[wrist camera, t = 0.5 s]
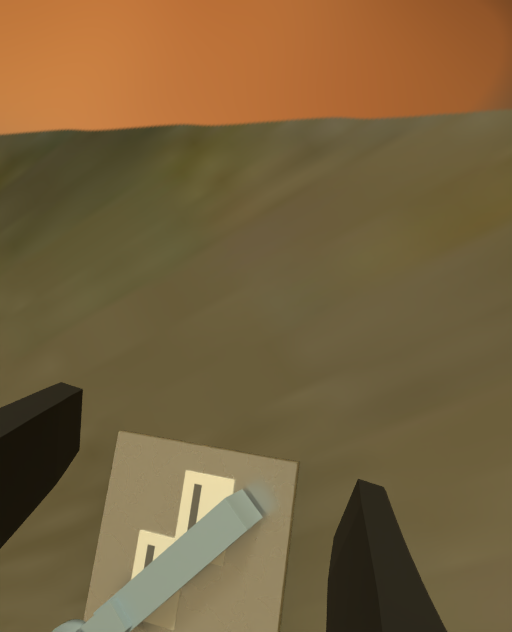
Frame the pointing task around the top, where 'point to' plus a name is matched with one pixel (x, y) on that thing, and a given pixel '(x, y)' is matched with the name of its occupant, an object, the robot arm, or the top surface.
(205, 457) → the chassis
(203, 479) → the power supply label
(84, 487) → the top surface
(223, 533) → the swing arm
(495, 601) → the top surface
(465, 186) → the top surface
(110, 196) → the top surface
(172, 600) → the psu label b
